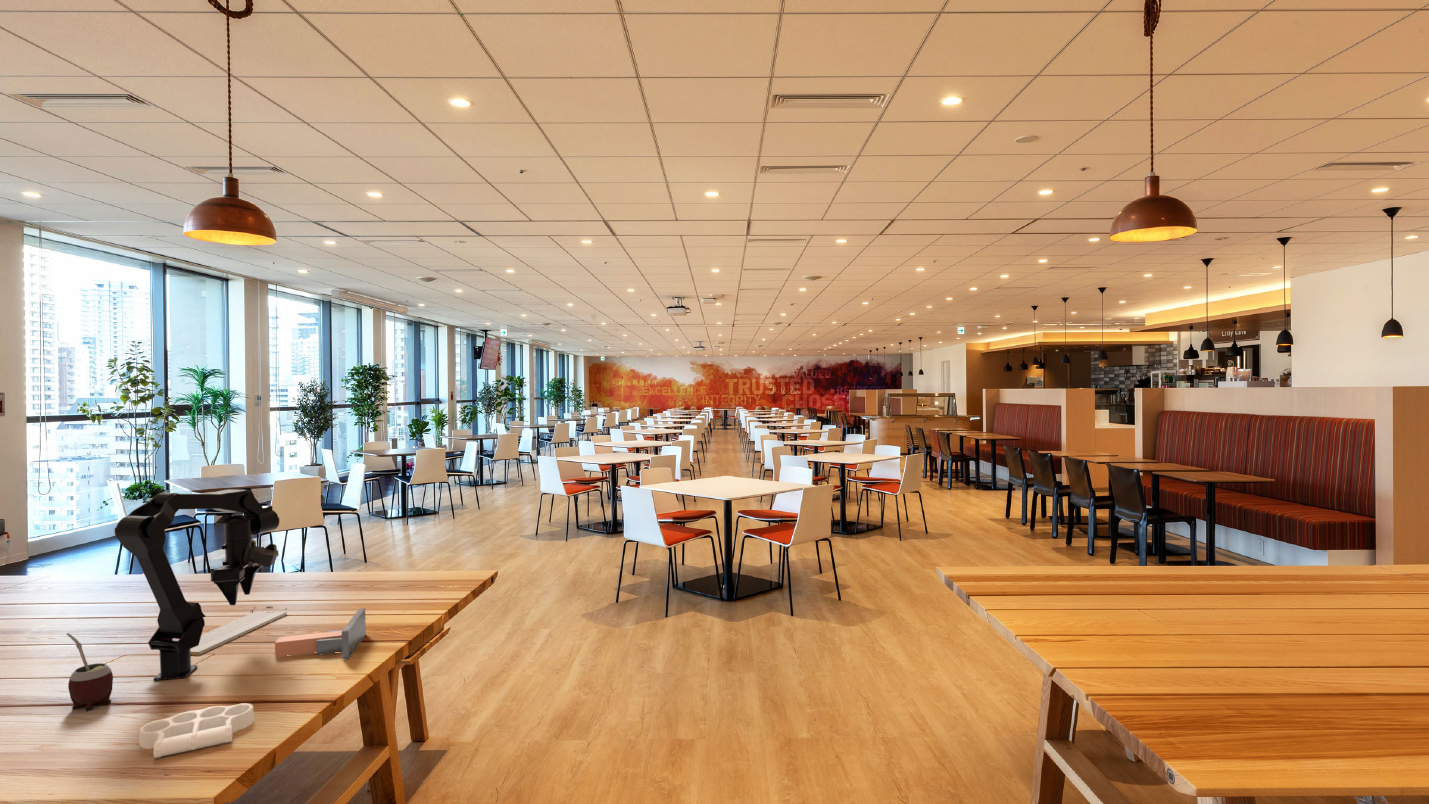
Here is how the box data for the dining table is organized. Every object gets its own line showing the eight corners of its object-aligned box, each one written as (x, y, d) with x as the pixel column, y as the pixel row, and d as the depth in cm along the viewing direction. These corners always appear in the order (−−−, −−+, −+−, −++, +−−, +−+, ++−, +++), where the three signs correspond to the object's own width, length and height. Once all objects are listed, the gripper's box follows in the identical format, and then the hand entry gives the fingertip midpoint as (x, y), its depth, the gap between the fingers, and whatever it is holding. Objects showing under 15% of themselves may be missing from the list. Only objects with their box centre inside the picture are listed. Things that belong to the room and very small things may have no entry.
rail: (275, 658, 179) (274, 642, 179) (279, 653, 183) (278, 637, 183) (347, 650, 184) (347, 634, 184) (350, 645, 188) (349, 629, 188)
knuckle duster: (131, 768, 129) (145, 733, 142) (251, 742, 138) (254, 711, 151) (130, 749, 129) (144, 716, 142) (251, 724, 138) (254, 695, 151)
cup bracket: (349, 659, 177) (348, 631, 177) (310, 663, 175) (309, 634, 175) (365, 634, 195) (365, 608, 194) (330, 637, 193) (330, 611, 192)
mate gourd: (109, 708, 152) (106, 636, 152) (59, 717, 148) (56, 644, 148) (117, 694, 159) (114, 626, 158) (69, 703, 155) (66, 632, 154)
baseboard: (155, 655, 182) (199, 657, 181) (155, 644, 182) (198, 646, 181) (249, 615, 213) (287, 616, 212) (249, 605, 213) (286, 606, 211)
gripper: (260, 544, 179) (262, 608, 179) (285, 529, 197) (287, 587, 197) (208, 547, 176) (210, 612, 177) (239, 532, 194) (241, 590, 195)
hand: (240, 599), depth 186 cm, fingers open, 9 cm apart
